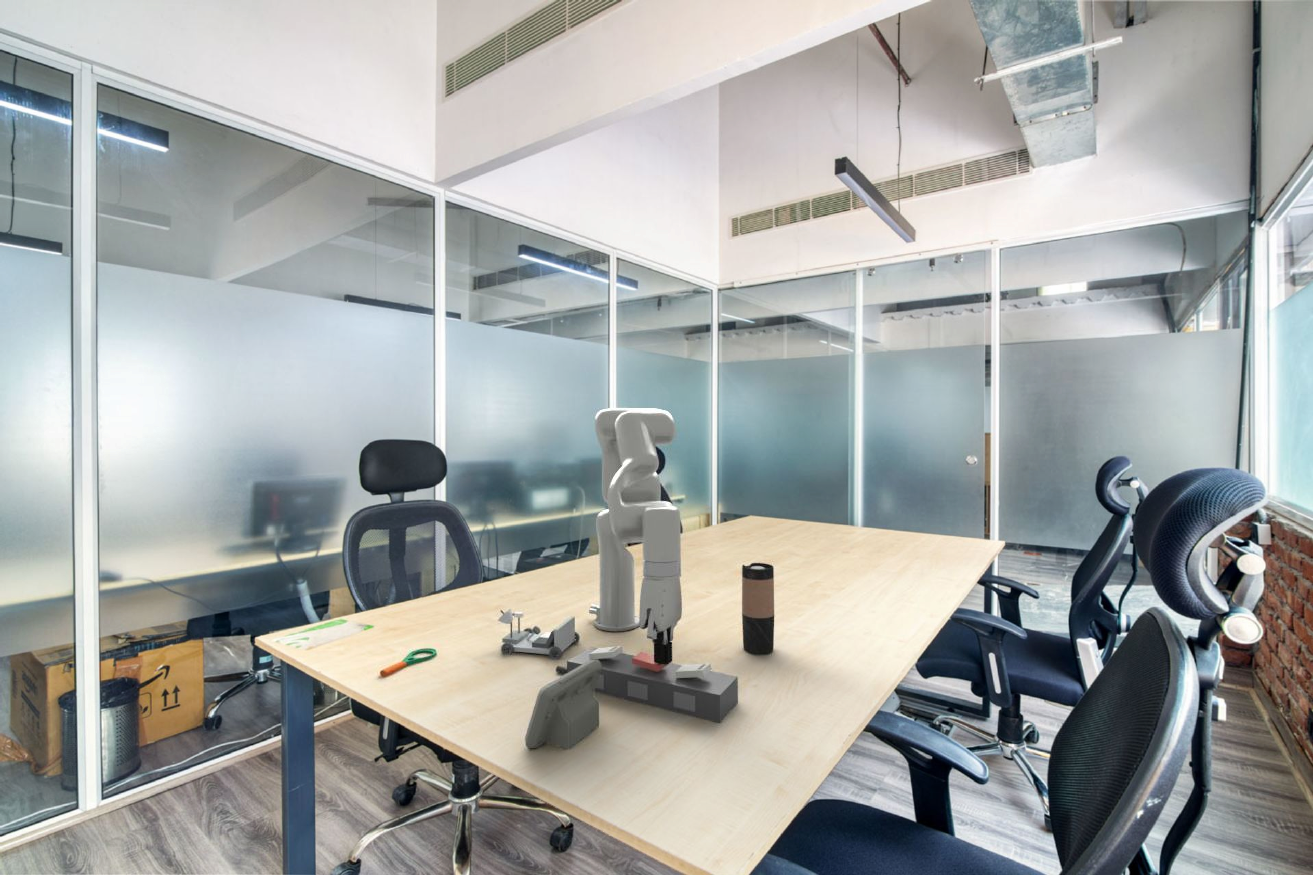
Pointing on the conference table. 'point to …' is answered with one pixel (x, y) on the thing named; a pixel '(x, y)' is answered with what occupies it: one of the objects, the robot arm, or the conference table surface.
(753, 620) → the travel mug
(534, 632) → the toy car
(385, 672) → the magnifying glass
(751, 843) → the conference table surface
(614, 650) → the rocker left
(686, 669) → the rocker right
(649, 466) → the robot arm
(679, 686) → the power strip
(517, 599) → the conference table surface
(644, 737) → the conference table surface
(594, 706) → the digital clock
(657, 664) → the rocker middle
